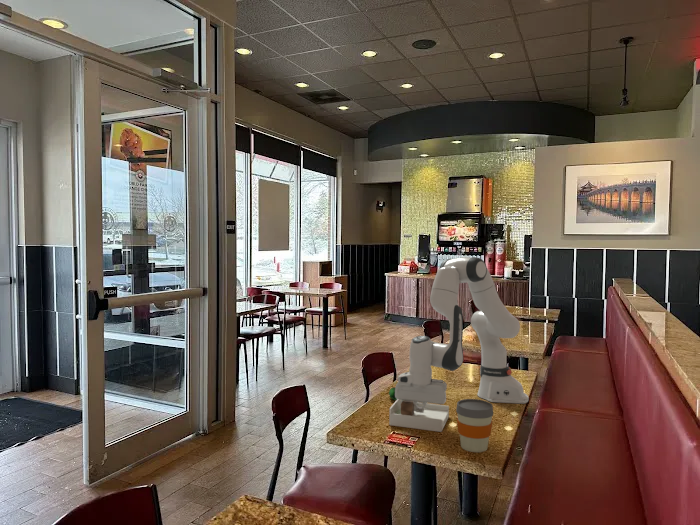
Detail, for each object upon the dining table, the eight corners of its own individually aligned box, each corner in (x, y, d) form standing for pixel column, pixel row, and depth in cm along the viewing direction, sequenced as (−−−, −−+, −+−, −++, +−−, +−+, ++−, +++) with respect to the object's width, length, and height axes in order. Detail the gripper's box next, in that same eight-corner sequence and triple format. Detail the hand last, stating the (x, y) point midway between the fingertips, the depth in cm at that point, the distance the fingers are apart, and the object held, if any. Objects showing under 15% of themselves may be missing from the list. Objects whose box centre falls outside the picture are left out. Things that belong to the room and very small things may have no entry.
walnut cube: (414, 412, 205) (414, 401, 205) (411, 416, 201) (412, 404, 201) (403, 411, 207) (403, 400, 207) (400, 414, 202) (400, 403, 202)
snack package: (424, 401, 228) (424, 389, 228) (389, 402, 227) (390, 390, 226) (420, 396, 235) (420, 385, 235) (387, 397, 234) (387, 385, 234)
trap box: (448, 416, 208) (448, 401, 208) (441, 431, 192) (441, 414, 191) (400, 410, 215) (400, 395, 214) (389, 425, 198) (389, 408, 198)
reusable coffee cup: (451, 440, 184) (452, 399, 183) (485, 439, 185) (486, 398, 184) (461, 454, 171) (462, 410, 171) (498, 454, 172) (499, 410, 171)
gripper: (448, 378, 202) (447, 412, 202) (397, 373, 209) (397, 406, 210) (445, 382, 196) (445, 417, 197) (393, 377, 203) (393, 411, 204)
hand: (420, 412), depth 203 cm, fingers closed
